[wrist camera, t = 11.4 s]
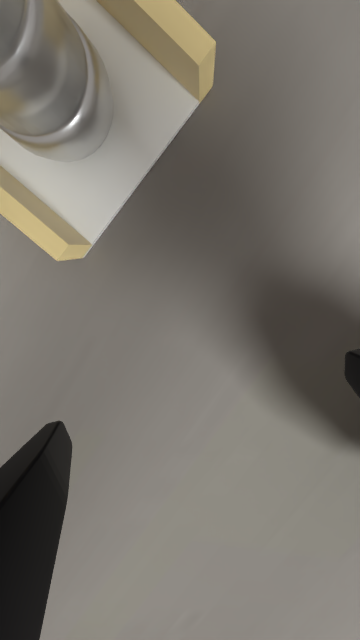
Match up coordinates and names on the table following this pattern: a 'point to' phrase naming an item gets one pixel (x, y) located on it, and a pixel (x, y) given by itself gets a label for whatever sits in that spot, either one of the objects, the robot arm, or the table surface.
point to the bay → (127, 124)
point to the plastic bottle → (51, 82)
